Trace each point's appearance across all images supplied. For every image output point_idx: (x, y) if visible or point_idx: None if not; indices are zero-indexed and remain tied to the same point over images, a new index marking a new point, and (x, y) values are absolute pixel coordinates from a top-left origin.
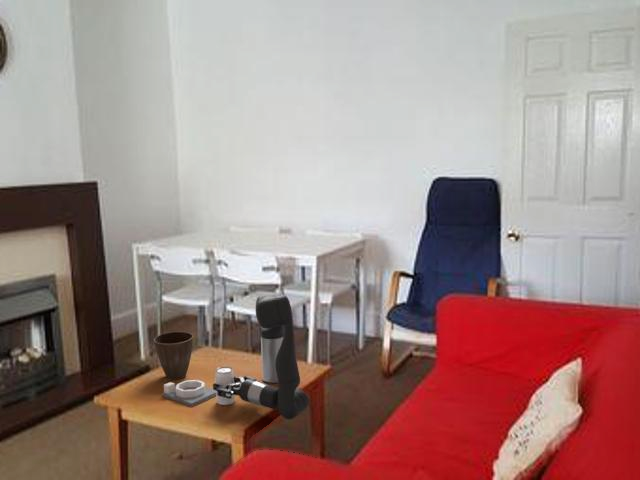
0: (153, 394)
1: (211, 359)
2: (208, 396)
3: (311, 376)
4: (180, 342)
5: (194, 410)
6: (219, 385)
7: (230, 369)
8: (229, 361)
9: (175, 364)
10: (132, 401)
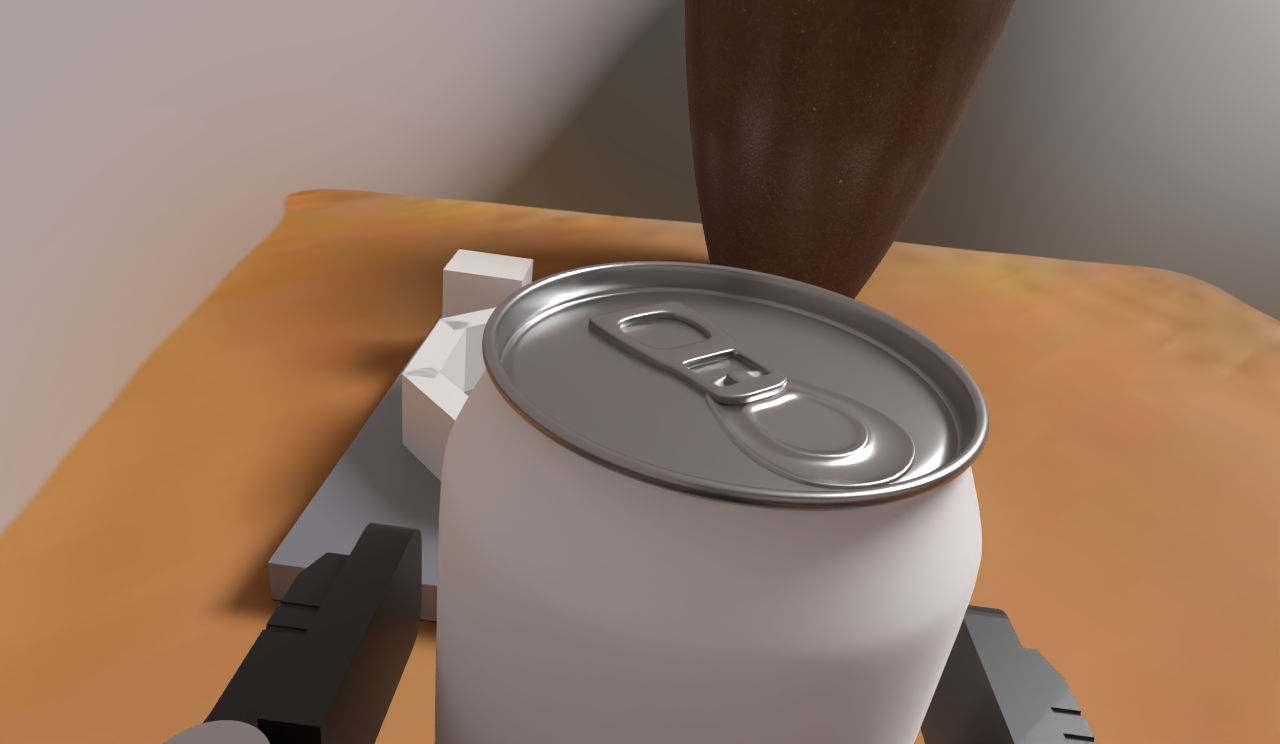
0: None
1: (1137, 326)
2: None
3: None
4: None
5: (136, 690)
6: (285, 684)
7: (919, 455)
8: (1268, 401)
9: (739, 177)
10: (286, 267)
